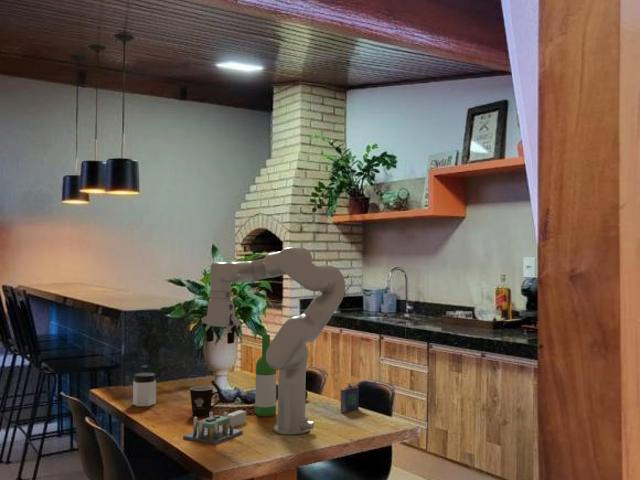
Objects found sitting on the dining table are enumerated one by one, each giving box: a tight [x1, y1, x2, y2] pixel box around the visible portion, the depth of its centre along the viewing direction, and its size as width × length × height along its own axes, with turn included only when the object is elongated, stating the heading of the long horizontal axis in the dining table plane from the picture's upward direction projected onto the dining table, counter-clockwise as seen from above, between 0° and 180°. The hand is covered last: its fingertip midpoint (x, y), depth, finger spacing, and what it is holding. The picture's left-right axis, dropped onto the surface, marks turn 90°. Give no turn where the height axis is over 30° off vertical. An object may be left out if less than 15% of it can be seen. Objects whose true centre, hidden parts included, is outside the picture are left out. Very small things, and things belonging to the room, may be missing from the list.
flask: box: [340, 382, 360, 414], centre depth 249 cm, size 9×3×11 cm, turn 133°
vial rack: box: [182, 411, 244, 446], centre depth 214 cm, size 13×15×6 cm
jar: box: [132, 372, 157, 407], centre depth 258 cm, size 9×8×12 cm
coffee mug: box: [189, 385, 224, 418], centre depth 242 cm, size 12×9×10 cm
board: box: [197, 414, 230, 429], centre depth 214 cm, size 6×10×2 cm, turn 150°
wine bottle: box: [254, 334, 277, 417], centre depth 243 cm, size 8×8×30 cm
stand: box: [227, 409, 247, 428], centre depth 229 cm, size 3×8×4 cm, turn 150°
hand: (220, 342), depth 236 cm, fingers open, 9 cm apart
